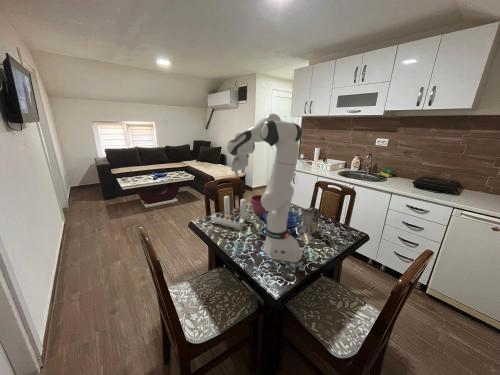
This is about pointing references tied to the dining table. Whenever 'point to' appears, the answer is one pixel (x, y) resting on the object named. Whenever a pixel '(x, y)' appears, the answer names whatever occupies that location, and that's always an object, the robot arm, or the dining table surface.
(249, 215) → the dining table surface
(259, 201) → the plant pot
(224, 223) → the grey tube rack
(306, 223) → the coffee box
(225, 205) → the cord post far
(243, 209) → the cord post near
